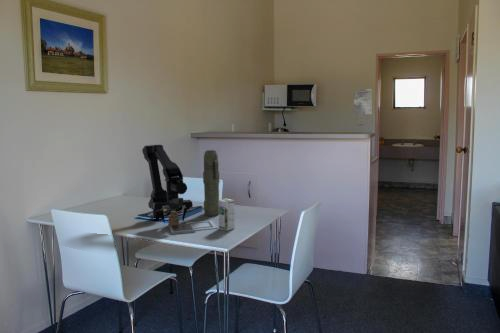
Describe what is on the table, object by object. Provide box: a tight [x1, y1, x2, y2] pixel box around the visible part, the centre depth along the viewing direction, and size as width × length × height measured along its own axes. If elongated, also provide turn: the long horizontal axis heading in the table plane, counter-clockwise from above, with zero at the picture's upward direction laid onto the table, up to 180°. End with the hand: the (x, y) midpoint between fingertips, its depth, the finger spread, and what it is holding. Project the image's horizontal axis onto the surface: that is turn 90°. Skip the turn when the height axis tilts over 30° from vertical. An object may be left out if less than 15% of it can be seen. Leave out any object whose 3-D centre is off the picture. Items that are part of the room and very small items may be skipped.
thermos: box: [202, 149, 221, 217], centre depth 241 cm, size 9×12×35 cm
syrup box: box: [218, 198, 236, 232], centre depth 214 cm, size 6×6×14 cm
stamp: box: [167, 210, 180, 227], centre depth 220 cm, size 5×5×8 cm
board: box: [184, 219, 219, 232], centre depth 221 cm, size 14×14×1 cm
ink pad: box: [168, 223, 196, 235], centre depth 214 cm, size 11×11×2 cm
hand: (173, 221), depth 221 cm, fingers open, 9 cm apart
